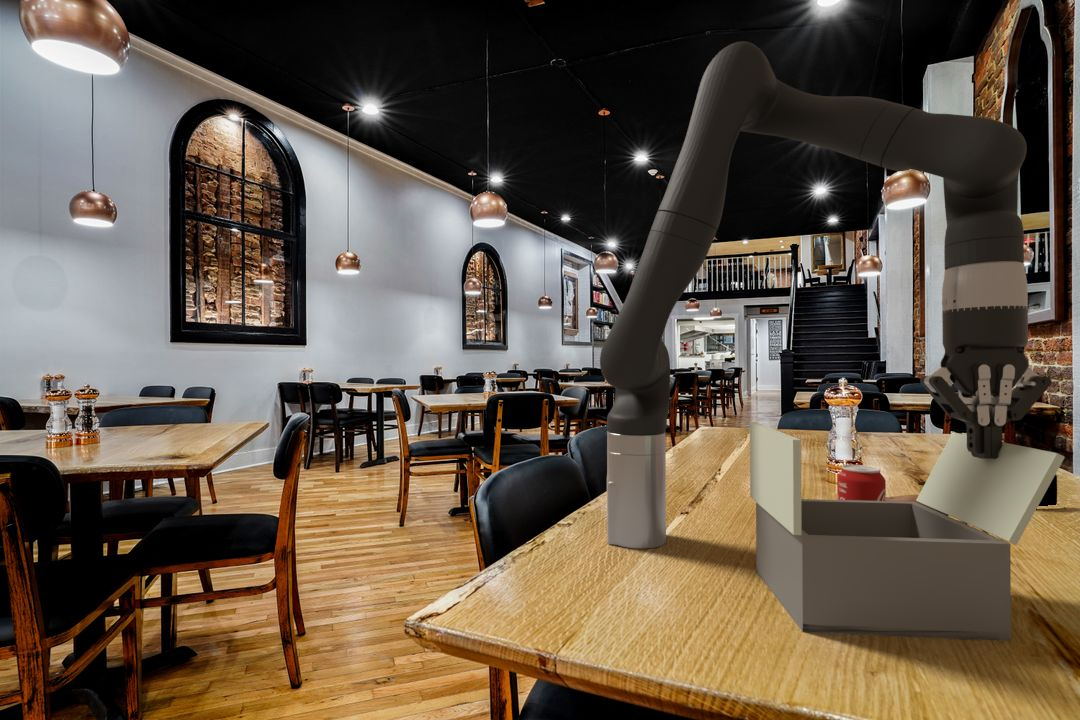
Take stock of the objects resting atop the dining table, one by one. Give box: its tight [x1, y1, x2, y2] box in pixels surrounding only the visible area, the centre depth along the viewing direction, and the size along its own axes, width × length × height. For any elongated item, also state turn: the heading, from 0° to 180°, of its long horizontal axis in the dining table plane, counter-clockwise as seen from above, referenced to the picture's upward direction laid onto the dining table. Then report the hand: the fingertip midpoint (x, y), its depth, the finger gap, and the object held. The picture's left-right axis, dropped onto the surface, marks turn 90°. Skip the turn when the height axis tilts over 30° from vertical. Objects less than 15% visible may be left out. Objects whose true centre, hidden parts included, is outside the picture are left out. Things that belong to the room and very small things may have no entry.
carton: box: [749, 421, 1012, 642], centre depth 62 cm, size 21×16×20 cm
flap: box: [916, 432, 1065, 546], centre depth 61 cm, size 10×16×1 cm
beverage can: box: [837, 464, 887, 501], centre depth 81 cm, size 6×6×12 cm
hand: (984, 457), depth 61 cm, fingers closed
